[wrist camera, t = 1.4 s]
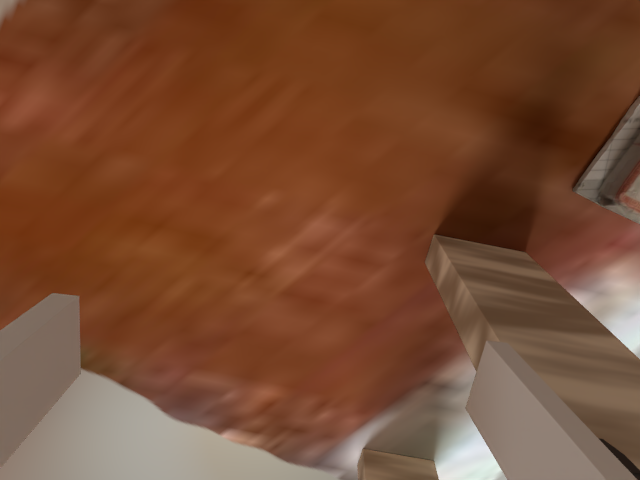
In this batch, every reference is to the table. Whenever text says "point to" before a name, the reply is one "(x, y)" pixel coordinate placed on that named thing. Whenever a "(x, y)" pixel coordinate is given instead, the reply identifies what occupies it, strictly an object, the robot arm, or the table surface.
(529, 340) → the frame
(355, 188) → the table surface
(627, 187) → the packaged product
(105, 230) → the table surface
